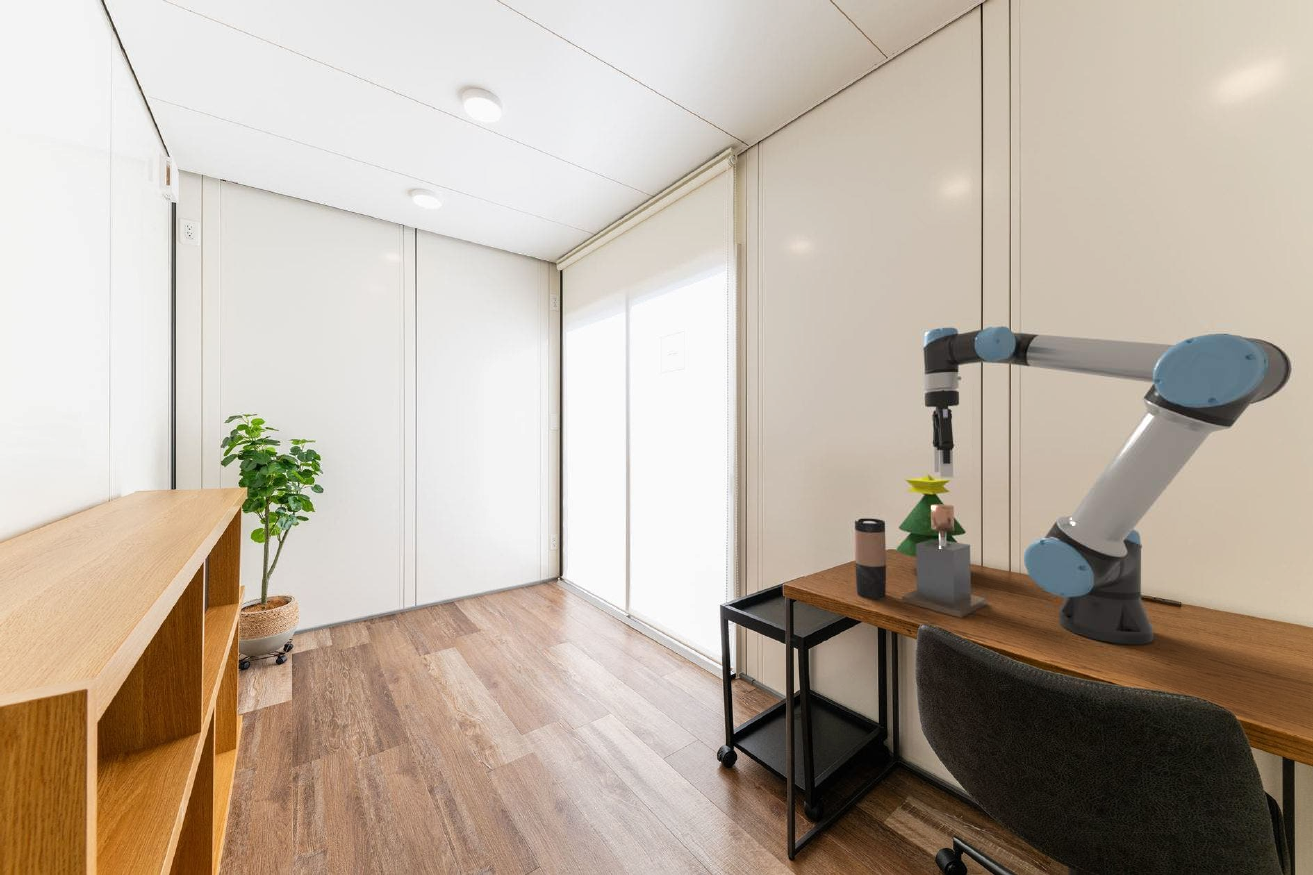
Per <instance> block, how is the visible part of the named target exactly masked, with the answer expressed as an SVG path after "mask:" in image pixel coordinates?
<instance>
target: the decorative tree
mask: <svg viewBox="0 0 1313 875" xmlns="http://www.w3.org/2000/svg"><path fill="white" fill-rule="evenodd" d="M905 481H906V482H907V483H908V484H909V485H911V487H910V488H909V489H908V490H907V492H909V493H916V494H917V493H918V494H922V495H923V496H922V497H921V499H920V500H919V501H918V503H917V504H916V505H915V506H914V507H913V509H912V510H911V512H909V514H908V515H907V516H906V517H905V519H904V520H903V521H902V522H901V524H899V526H898V529H899V530H901V531H903V532H906V533H909V534H908V535H907V536H906V537H905V539H904V540H903V541H902V542H901V543H900V544H899V545H898V546H897V548H896V550H897V552H899V553H900V554H902V555H906V556H909V557H915V558H916V544H918V543H921V542H924V541H928V540H931V539H937V540H939V531H936V530H932V529H931V505H933V504H944V502H943V501H942V500H941V499H940V497H939V496H938V494H946V493H950V491H949V490H948V489H947V488H946V487H945V485H946V484H947V483H949V482H950V481H951V480H950V479H943V478H940V479H939V478H933V476H931V475H930V474H926V475H925V476H924V477H920V478H919V477H917V478H910V479H908V478H907V479H905ZM966 532H967V531H966V530H965V529H964V528H963V526H962V525H961V524H960V522H959V521H958V520H957V519H956V518H955V517H954V531H946V541H950V542H956V543H959V542H958V541H957V540H956V539H955V538H954V536H962V535H964V534H966Z"/></svg>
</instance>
